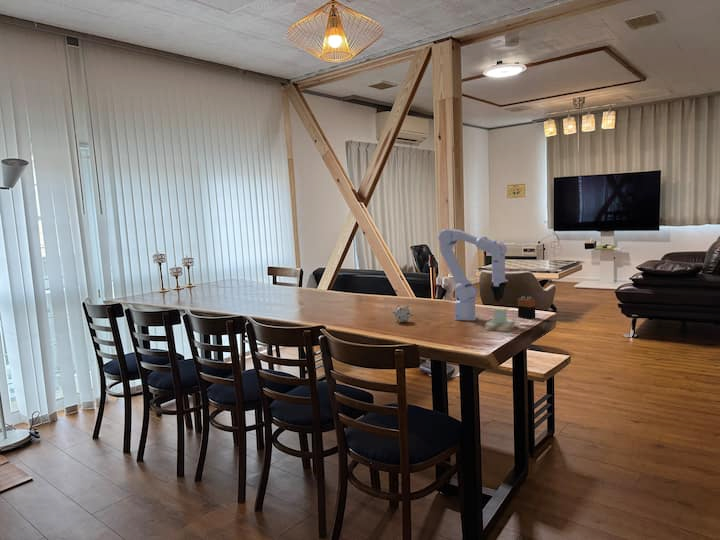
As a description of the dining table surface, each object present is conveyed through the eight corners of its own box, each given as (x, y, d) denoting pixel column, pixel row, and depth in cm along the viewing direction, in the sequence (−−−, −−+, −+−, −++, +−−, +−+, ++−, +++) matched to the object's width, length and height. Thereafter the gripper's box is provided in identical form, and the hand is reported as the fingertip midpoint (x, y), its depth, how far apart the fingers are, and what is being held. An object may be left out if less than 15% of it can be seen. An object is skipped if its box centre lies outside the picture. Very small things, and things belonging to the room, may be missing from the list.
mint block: (494, 323, 217) (493, 311, 217) (495, 320, 222) (495, 309, 221) (505, 323, 216) (504, 312, 215) (506, 321, 220) (506, 310, 219)
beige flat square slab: (484, 331, 216) (484, 324, 216) (489, 325, 226) (489, 319, 226) (511, 332, 212) (511, 325, 212) (514, 326, 222) (514, 320, 222)
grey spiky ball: (406, 329, 240) (418, 312, 240) (400, 326, 233) (413, 309, 232) (392, 318, 244) (404, 301, 244) (386, 316, 237) (398, 298, 236)
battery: (530, 319, 232) (529, 298, 231) (517, 317, 238) (517, 296, 237) (535, 318, 235) (535, 296, 234) (523, 316, 240) (523, 295, 239)
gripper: (505, 272, 219) (505, 302, 220) (509, 268, 232) (510, 297, 233) (488, 272, 222) (489, 302, 223) (494, 268, 235) (494, 296, 236)
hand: (498, 299), depth 228 cm, fingers open, 7 cm apart
